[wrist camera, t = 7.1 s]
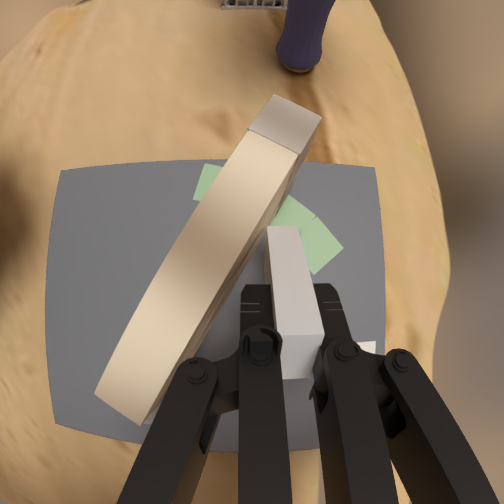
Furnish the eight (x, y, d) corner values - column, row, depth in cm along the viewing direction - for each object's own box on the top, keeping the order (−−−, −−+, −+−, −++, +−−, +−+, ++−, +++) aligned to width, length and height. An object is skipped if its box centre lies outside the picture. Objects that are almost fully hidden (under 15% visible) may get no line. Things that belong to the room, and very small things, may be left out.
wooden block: (181, 403, 16) (141, 469, 8) (131, 372, 16) (62, 413, 8) (301, 196, 18) (339, 126, 10) (251, 168, 18) (257, 86, 10)
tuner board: (70, 413, 18) (55, 423, 15) (75, 182, 21) (60, 170, 18) (363, 426, 19) (376, 439, 16) (362, 180, 22) (374, 167, 19)
